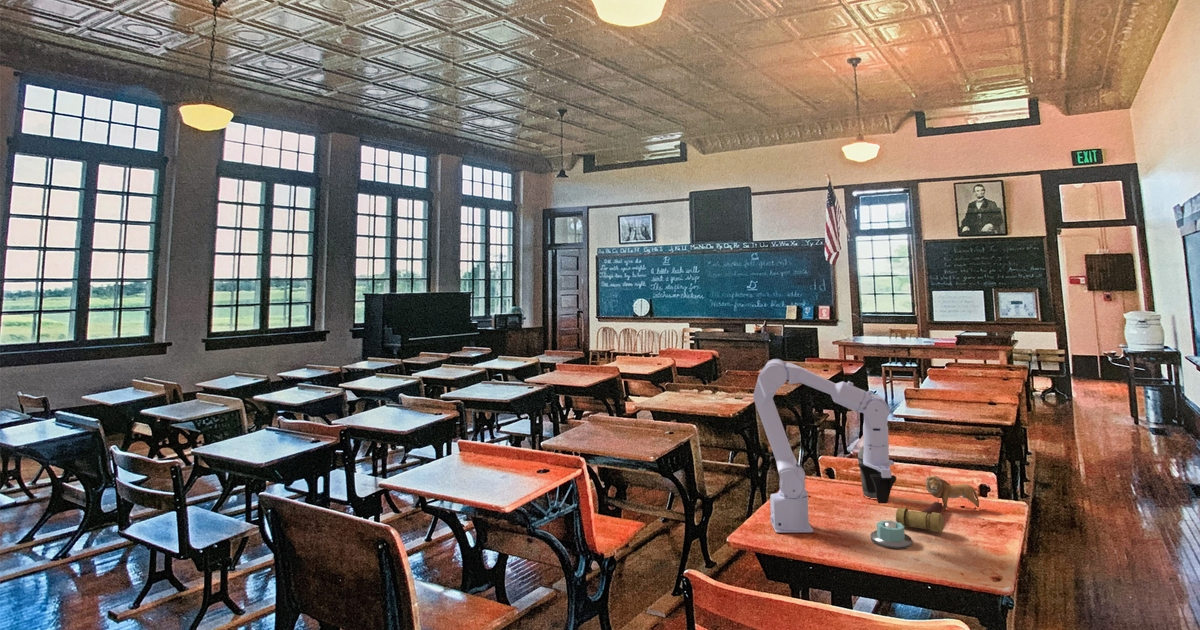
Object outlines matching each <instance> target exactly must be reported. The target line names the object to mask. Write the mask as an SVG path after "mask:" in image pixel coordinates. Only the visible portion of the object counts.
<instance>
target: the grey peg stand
mask: <svg viewBox="0 0 1200 630" xmlns="http://www.w3.org/2000/svg"><path fill="white" fill-rule="evenodd" d="M885 521H886V522H885V527H888V528H896V523H895V522H896V521H894V522H892V521H893V520H885ZM870 541H871V542H872V543H873V544H874V545H876V546H879V547H882V548H885V549H890V550H891V549H892V550H903V549H909V548H910V547H911V546H912V545H913V540H912V537H911V536H910V535H908V534H906V533H905V539H904V540H903V541H901V542H888V541H885V540H882V539H880V538H879V537H878V536H877V530H874V531H872V532H871V533H870Z"/></svg>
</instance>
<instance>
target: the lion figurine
mask: <svg viewBox="0 0 1200 630" xmlns="http://www.w3.org/2000/svg"><path fill="white" fill-rule="evenodd" d="M924 482H925V483H924V484H925V488H926V490H927V492H928V493H929V494H931V496H933V497H934V498H935V499H936V498H942V505H943V509H944V511H947V509H948V500H949V499H957V498H961V497H962V499H963V498H967V499H968V502H970V503H972V504H974V505H975V506H977V507H979V503H980V500H979V496H978V494H977V493H978V492H977V491H976V489H975V488H974V487H973V486H972V485H971V484H967V483H960V484H950V483H948V482H947V481H946V480H945V479H943V478H940V477H939V476H937V475H932V474H931V475H928V476H927V478H926V479H925V481H924ZM976 499H977V500H976ZM946 508H947V509H946ZM943 509H942V510H943Z"/></svg>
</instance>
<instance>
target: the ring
mask: <svg viewBox="0 0 1200 630" xmlns="http://www.w3.org/2000/svg"><path fill="white" fill-rule="evenodd" d="M886 521H887V520H880V521H878V522H877V523H876V531H877V536H878V537H879V538H880V539H882V540H885V541H888V542H901V541H903V540H904V539H905V534H906V532H905V527H904V526H903V525H902V524H901V523H898V522H896V521H894V520H891V521H892V522H895V523H896V528H888V527H885V522H886Z"/></svg>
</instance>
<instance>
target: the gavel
mask: <svg viewBox="0 0 1200 630" xmlns="http://www.w3.org/2000/svg"><path fill="white" fill-rule="evenodd" d="M942 510H943V502H942V503H939V502H938V501H935V502H933V503H931V504H930V505H929V506H927V507H926V508H924V509H923V510H921V511H918V510H917V511H916V510H909V509H908V508H905V507H898V508H897V509H896V512H895V522H898V523H901V524H902V525H903V526H904V528H908V527H912V528H919V529H922V530H923V529H924V530H931V532H933V533H941V534H942V532H943V531H944V525H945V524H944V523H945V522H944V520H945V519H944V516H943V514H942V513H941V511H942Z"/></svg>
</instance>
